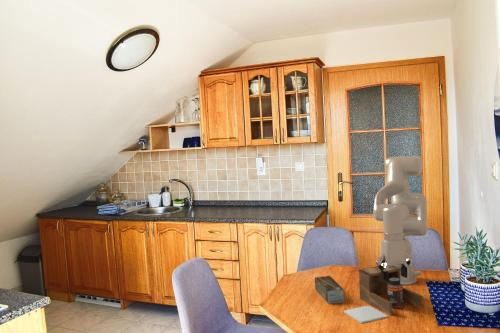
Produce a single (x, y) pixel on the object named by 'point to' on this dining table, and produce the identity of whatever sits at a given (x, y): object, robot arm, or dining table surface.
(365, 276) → the brown boxy piece
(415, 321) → the dining table surface
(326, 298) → the beverage carton
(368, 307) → the tile
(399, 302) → the supplement bottle
